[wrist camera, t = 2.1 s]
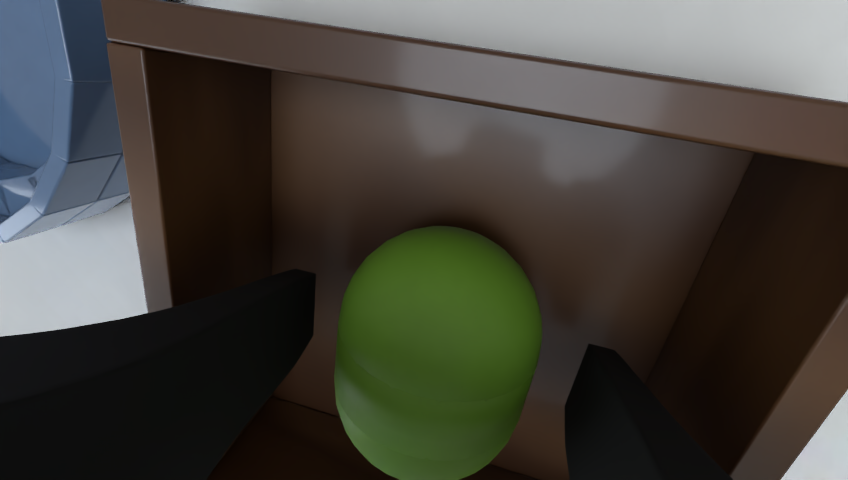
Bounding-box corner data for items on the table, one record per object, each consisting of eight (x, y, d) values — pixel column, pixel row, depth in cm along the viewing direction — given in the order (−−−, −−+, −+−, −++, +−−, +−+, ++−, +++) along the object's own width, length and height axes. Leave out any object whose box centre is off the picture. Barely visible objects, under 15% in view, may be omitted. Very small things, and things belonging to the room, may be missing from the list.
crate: (605, 504, 14) (638, 673, 10) (262, 396, 16) (175, 500, 12) (804, 109, 9) (1042, 131, 5) (255, 24, 11) (96, -11, 7)
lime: (505, 404, 13) (495, 565, 9) (366, 364, 14) (294, 494, 9) (559, 222, 11) (584, 322, 6) (387, 186, 11) (300, 251, 7)
